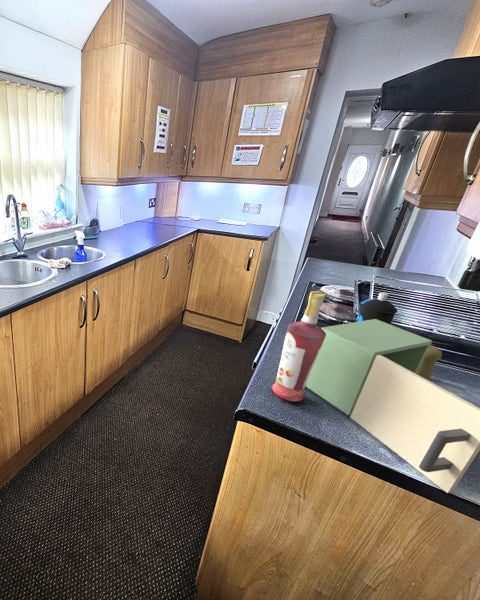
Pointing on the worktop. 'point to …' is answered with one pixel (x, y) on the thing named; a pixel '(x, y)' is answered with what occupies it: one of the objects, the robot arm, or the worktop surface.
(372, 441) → the worktop surface
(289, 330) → the liquor
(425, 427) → the door
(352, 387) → the cupboard
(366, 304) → the aerosol can
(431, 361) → the cork
